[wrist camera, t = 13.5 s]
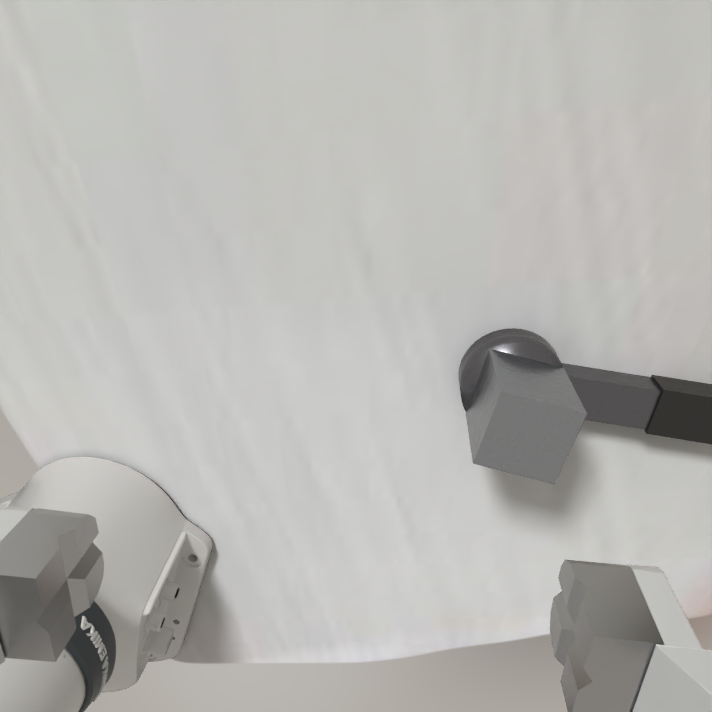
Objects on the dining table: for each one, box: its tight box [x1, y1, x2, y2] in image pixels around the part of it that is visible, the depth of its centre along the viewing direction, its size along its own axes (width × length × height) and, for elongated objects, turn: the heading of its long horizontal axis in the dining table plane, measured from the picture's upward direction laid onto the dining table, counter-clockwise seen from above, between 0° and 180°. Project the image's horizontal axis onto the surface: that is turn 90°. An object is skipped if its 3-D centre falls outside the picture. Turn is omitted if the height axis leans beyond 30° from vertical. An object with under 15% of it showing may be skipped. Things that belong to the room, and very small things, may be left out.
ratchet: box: [459, 329, 712, 444], centre depth 40 cm, size 7×19×6 cm, turn 82°
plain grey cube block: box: [466, 349, 587, 484], centre depth 38 cm, size 5×5×6 cm
